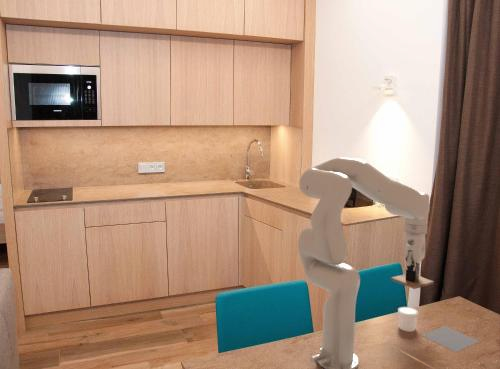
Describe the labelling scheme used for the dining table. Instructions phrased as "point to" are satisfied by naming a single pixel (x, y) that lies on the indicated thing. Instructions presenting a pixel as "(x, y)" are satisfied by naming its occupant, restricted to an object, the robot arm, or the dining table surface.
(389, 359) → the dining table surface
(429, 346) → the dining table surface
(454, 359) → the dining table surface
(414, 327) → the pale pink cup
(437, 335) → the mat
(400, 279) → the lid
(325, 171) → the robot arm
